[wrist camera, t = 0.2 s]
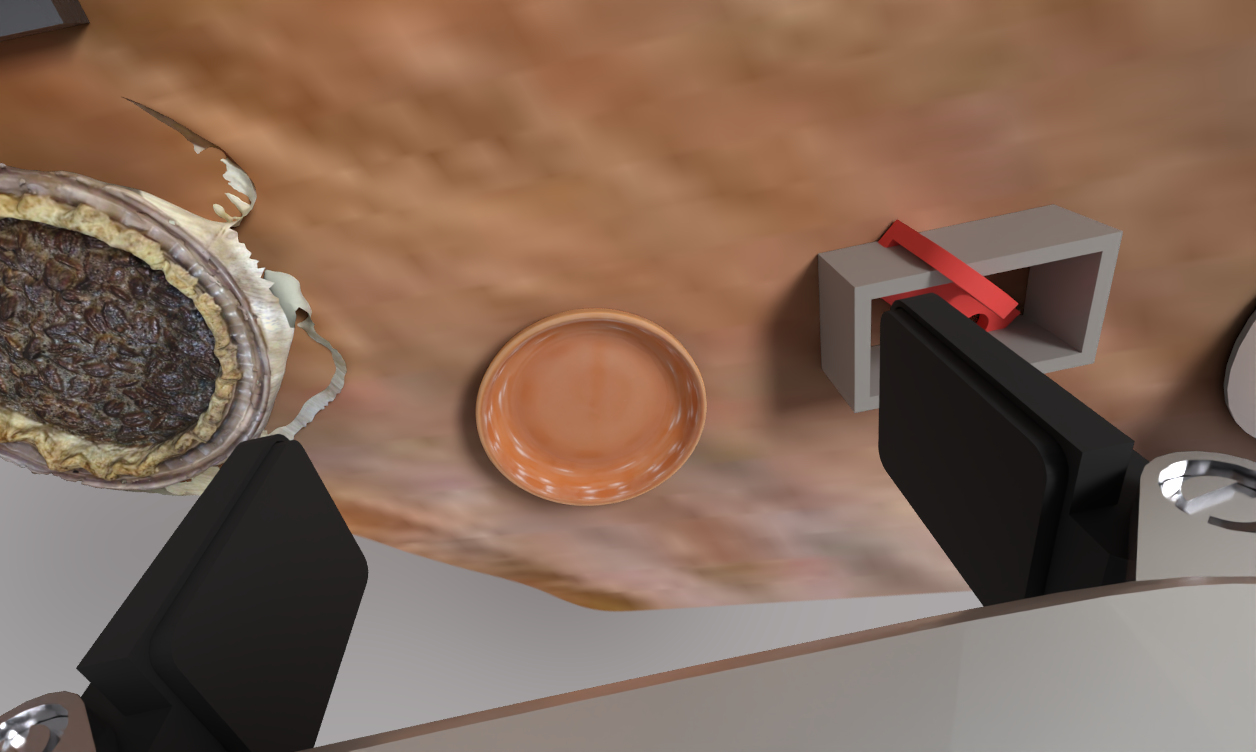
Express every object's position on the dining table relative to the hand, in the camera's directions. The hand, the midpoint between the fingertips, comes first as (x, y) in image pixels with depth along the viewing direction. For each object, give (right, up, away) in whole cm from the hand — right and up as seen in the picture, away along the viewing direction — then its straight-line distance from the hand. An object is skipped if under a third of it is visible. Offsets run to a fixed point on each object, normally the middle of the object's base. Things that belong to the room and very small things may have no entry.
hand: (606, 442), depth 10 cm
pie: (-32, +5, +30) cm, 44 cm away
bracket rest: (+22, +7, +35) cm, 41 cm away
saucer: (-2, 0, +37) cm, 37 cm away
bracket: (+22, +7, +35) cm, 41 cm away
